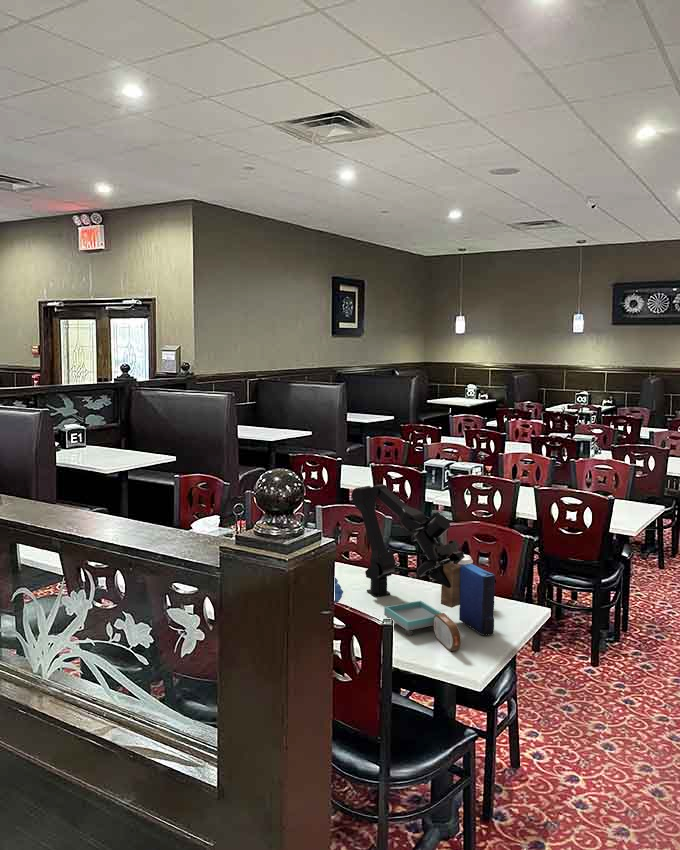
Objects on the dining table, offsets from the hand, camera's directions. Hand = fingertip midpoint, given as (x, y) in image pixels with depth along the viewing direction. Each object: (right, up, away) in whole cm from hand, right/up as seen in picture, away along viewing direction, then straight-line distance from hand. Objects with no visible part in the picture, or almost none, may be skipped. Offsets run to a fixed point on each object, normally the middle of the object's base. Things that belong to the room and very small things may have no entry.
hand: (454, 585), depth 245 cm
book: (+6, -13, -5) cm, 15 cm away
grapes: (-39, -10, +9) cm, 42 cm away
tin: (-5, -14, -17) cm, 23 cm away
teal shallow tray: (-14, -12, -4) cm, 19 cm away
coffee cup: (+5, -9, +23) cm, 25 cm away
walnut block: (-1, -6, +2) cm, 7 cm away
